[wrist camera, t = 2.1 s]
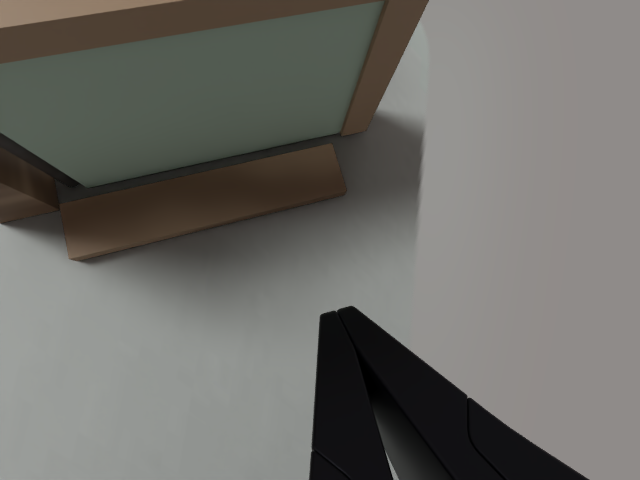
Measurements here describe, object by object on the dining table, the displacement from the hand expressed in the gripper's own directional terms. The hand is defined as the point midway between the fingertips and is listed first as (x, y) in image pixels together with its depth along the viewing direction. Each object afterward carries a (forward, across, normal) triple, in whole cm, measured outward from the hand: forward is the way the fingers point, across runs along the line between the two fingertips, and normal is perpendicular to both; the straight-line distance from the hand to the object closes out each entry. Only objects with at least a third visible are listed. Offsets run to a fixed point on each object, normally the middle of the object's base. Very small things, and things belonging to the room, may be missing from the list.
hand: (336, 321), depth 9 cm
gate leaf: (+15, +2, 0) cm, 16 cm away
